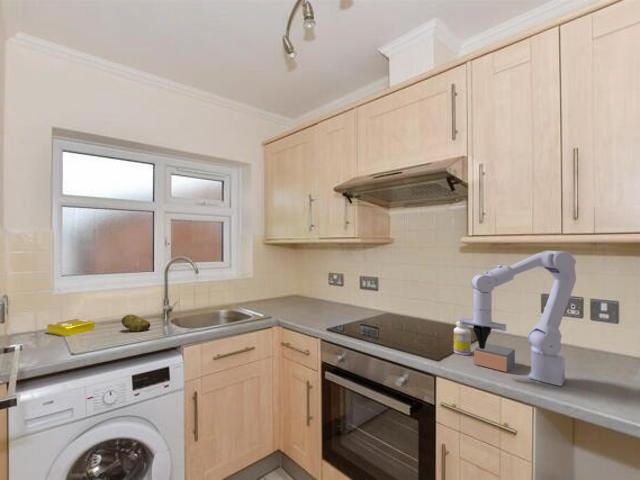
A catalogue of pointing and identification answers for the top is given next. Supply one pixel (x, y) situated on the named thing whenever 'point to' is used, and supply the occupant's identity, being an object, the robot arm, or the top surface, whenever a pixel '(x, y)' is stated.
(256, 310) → the top surface
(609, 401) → the top surface
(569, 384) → the top surface
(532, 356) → the robot arm
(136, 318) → the potato
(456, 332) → the supplement bottle
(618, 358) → the top surface
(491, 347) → the storage box
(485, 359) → the drawer
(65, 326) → the element tile
